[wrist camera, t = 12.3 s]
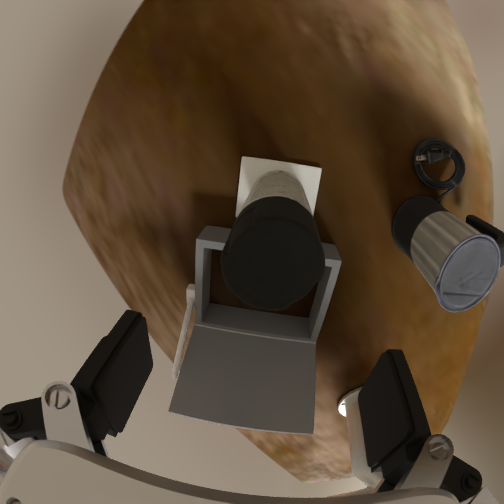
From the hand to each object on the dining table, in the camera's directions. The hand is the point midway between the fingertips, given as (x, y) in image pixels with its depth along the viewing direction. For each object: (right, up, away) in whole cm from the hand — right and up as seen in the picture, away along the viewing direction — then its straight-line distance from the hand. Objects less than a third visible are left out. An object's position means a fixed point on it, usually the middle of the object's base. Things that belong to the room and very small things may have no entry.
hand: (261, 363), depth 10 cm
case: (+1, -1, +32) cm, 32 cm away
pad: (+3, +12, +25) cm, 28 cm away
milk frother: (+24, +12, +23) cm, 35 cm away
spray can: (+3, +12, +25) cm, 28 cm away
